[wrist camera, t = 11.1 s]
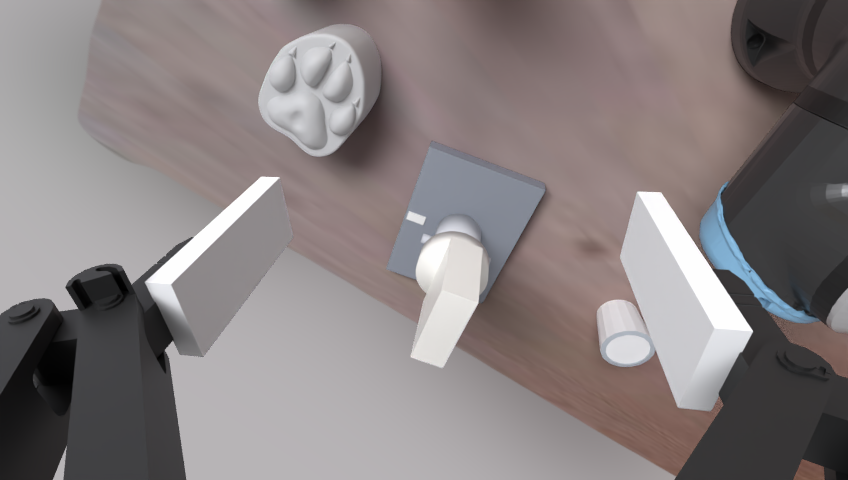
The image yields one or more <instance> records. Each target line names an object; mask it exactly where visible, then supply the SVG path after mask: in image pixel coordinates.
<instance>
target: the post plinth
mask: <svg viewBox="0 0 848 480" xmlns="http://www.w3.org/2000/svg"><path fill="white" fill-rule="evenodd" d="M545 191H546V190H545V184H544V183H543V182H540V181H537V180H535V179H532V178H529V177H527V176H524V175H521V174H519V173H516V172H513V171H511V170H508V169H505V168H503V167H500V166H497V165H495V164H492V163H489V162H487V161H484V160H481V159H479V158H476V157H473V156H471V155H468V154H466V153H463V152H460V151H458V150H455V149H452V148H450V147H447V146H444V145H442V144H439V143H436V142H434V141H432V142H431V144H430V147H429V149H428V152H427V155H426V158H425V161H424V164H423V166H422V169H421V172H420V175H419V178H418V180H417V183H416V186H415V189H414V192H413V194H412V197H411V200H410V203H409V206H408V209H407V211H406V214H405V217H404V220H403V223H402V225H401V228H400V231H399V234H398V237H397V240H396V242H395V245H394V248H393V251H392V254H391V256H390V259H389V262H388V265H387V268H386V269H387V270H390V271H393V272H396V273H398V274H401V275H404V276H407V277H410V278H412V279H415V280H417V278H416V266H417V263H418V259H419V255H420V252H421V249H422V247H423V245H424V244H425V242H426V241H427V240H428V239H430V238H431V237H432V236H434V235H436V234H439V233H442V232H447V231H457V232H462V233H466V234H468V235H471V236H472V237H474V238H476V239H477V240H478V241H479V242H480V243H481V244H482V245H483V246H484V247H485V249H486V251H487V253H488V257H489V272H488V282H487V286H486V288H485V289H484V291H483V292H482V293H481V294H480V295H479V303H483V301H484V299H485V298H486V296H487V294H488V292H489V290H490V289H491V287H492V285H493V283H494V282H495V280H496V278H497V276H498V274H499V273H500V271H501V269H502V267H503V266H504V264H505V262H506V260H507V258H508V257H509V255H510V253H511V251H512V249H513V248H514V246H515V244H516V242H517V241H518V239H519V237H520V235H521V233H522V232H523V230H524V228H525V226H526V224H527V223H528V221H529V219H530V217H531V216H532V214H533V212H534V210H535V208H536V207H537V205H538V203H539V201H540V199H541V198H542V196H543V194H544V192H545Z"/></svg>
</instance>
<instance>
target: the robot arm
mask: <svg viewBox="0 0 848 480" xmlns="http://www.w3.org/2000/svg"><path fill="white" fill-rule="evenodd" d="M731 35H732V45H733V49H734V52H735V55H736V57H737V60H738V61H739V63H740V65H741V66H742V67H743V69H744V70H745V71H746V72H747V73H748V74H749V75H750V76H752V77H753V78H755V79H756V80H758V81H760V82H762V83H764V84H766V85H768V86H771V87H773V88H776V89H779V90H783V91H788V92H796V93H801V94H800V95H799V96H798V97H797V99H796V100H795V101H794V102H793V103H792V104H791V105H790V106H789V108H788V109H787V110H786V111H785V113H784V114H783V115H782V116H781V118H780V119H779V120H778V121H777V123H776V124H775V125H774V126H773V128H772V129H771V130H770V131H769V133H768V134H767V135H766V136H765V138H764V139H763V140H762V141H761V143H760V144H759V145H758V146H757V148H756V149H755V150H754V151H753V153H752V154H751V155H750V156H749V158H748V159H747V160H746V161H745V163H744V164H743V165H742V166H741V168H740V169H739V170H738V171H737V173H736V174H735V175H734V176H733V178H732V179H731V180H730V181H729V182H726V183H725V184H724V185H723V186H722V187H721V189H720V190H719V193H718V196H717V198H716V200H715V201H714V202H713V204H712V205H711V207H710V208H709V209H708V211H707V212H706V213H705V215H704V216H703V218H702V220H701V223H700V234H699V237H700V241H701V244H702V247H703V249H704V251H705V253H706V255H707V257H708V258H709V260H710V261H711V263H712V264H713V265H714V267H715V268H716V269H711V267H710V266H709V264H708V263H707V261H706V260H705V258H704V257H703V255H702V254H701V252H700V251H699V249H698V248H697V246H696V245H695V243H694V242H693V240H692V239H691V237H690V236H689V234H688V233H687V231H686V230H685V228H684V227H683V225H682V224H681V222H680V221H679V219H678V218H677V216H676V215H675V213H674V212H673V210H672V209H671V207H670V206H669V204H668V203H667V201H666V199H665V198H664V196H663V195H662V193H660V192H637V194H636V198H635V202H634V205H633V209H632V213H631V217H630V221H629V224H628V228H627V232H626V236H625V240H624V243H623V247H622V251H621V255H620V258H621V261H622V264H623V266H624V269H625V271H626V274H627V277H628V279H629V282H630V284H631V287H632V290H633V292H634V295H635V297H636V300H637V303H638V305H639V308H640V310H641V313H642V316H643V318H644V321H645V323H646V326H647V329H648V331H649V334H650V336H651V339H652V342H653V344H654V347H655V349H656V352H657V355H658V357H659V360H660V362H661V365H662V368H663V370H664V373H665V375H666V378H667V380H668V383H669V386H670V388H671V391H672V393H673V396H674V399H675V401H676V404H677V406H678V408H685V409H694V410H703V411H711V410H712V408H713V406H714V405H715V403H716V401H717V399H718V397H719V396H720V398H721V400H722V402H723V404H724V406H723V407H722V409H721V410H720V412H719V413H718V415H717V416H716V418H715V419H714V421H713V422H712V424H711V425H710V427H709V428H708V430H707V431H706V433H705V434H704V436H703V437H702V439H701V440H700V442H699V443H698V445H697V446H696V448H695V449H694V451H693V453H692V454H691V456H690V457H689V459H688V460H687V462H686V463H685V465H684V466H683V468H682V469H681V471H680V472H679V474H678V475H677V477H676V478H675V480H793V478H794V476H795V474H796V471H797V469H798V467H799V464H800V462H801V460H802V459H804V460H807V461H810V462H812V463H815V464H818V465H821V466H823V467H824V475H825V480H848V378H845V377H842V376H839V375H836V373H835V372H834V370H833V369H832V367H831V366H830V364H829V363H827V362H826V361H825V360H824V359H823V358H822V357H820V356H819V355H817V354H816V353H814V352H812V351H810V350H808V349H807V348H804V347H801V346H799V345H796V344H793V343H790V342H789V340H788V339H787V338H786V336H785V335H784V334H783V332H782V331H781V330H780V328H779V327H778V326H777V324H776V323H775V322H774V320H773V319H772V318H771V316H770V315H769V313H768V312H770V313H772V314H774V315H776V316H778V317H780V318H782V319H785V320H788V321H792V322H795V323H813V322H817V321H822V322H823V323H824V324H825V325H827V326H828V327H829V328H831V329H832V330H834V331H835V332H837V333H846V334H848V0H738V1H737V4H736V7H735V11H734V14H733V20H732V30H731ZM292 239H293V233H292V229H291V224H290V220H289V216H288V211H287V207H286V203H285V198H284V194H283V190H282V185H281V181H280V177H261V178H259V179H258V180H257V181H256V182H255V183H254V184H253V185H252V186H251V187H249V188H248V189H247V190H246V191H245V192H244V193H243V194H242V195H241V196H239V197H238V198H237V199H236V200H235V201H234V202H233V203H232V204H231V205H230V206H228V207H227V208H226V209H225V210H224V211H223V212H222V213H221V214H220V215H219V216H217V217H216V218H215V219H214V220H213V221H212V222H211V223H210V224H209V225H207V226H206V227H205V228H204V229H203V230H202V231H201V232H200V233H199V234H197V235H196V236H195V237H191V238H189V239H187V240H186V241H184V242H182V243H180V244H178V245H176V246H175V247H174V248H173V249H172V250H171V251H169V252H168V253H167V254H166V257H165V256H164V257H163V258H162V259H160V260H159V261H158V262H157V264H155V265H154V266H152V267H151V268H150V269H149V270H148V271H147V272H146V273H145V274H143V275H142V276H141V277H140V278H139V279H138V280H137V281H135V282H134V283H133V284H132V285H131V283H130V281H129V279H128V277H127V275H126V273H125V271H124V269H123V268H122V266H120V265H117V264H104V265H99V266H95V267H92V268H90V269H87V270H84V271H83V272H81V273H79V274H77V275H75V276H74V277H73V278H72V279H71V280H69V282H68V283H67V285H66V289H67V291H68V292H69V294H70V296H71V297H72V299H73V300H74V302H75V304H76V305H77V307H78V309H75V310H68V311H60V312H59V311H58V309H57V308H56V306H55V304H54V303H53V302H52V301H51V300H50V299H45V298H43V299H33V300H30V301H25V302H21V303H19V304H18V305H17V304H16V305H14V306H12V307H11V308H10V309H8V310H7V311H5V312H3V313H2V314H1V315H0V480H53V477H54V475H55V473H56V470H57V468H58V465H59V463H60V460H61V458H62V455H63V453H64V450H65V448H66V446H67V450H66V460H65V471H64V480H186V475H185V468H184V461H183V455H182V447H181V440H180V433H179V426H178V419H177V412H176V405H175V398H174V391H173V384H172V377H171V370H170V363H169V358H168V356H167V354H166V352H165V349H166V347H168V345H169V344H170V343H171V342H172V341H174V343H175V345H176V347H177V350H178V352H179V354H180V355H189V356H198V357H204V355H205V354H206V353H207V351H208V350H209V349H210V347H211V346H212V345H213V343H214V342H215V341H216V339H217V338H218V337H219V335H220V334H221V332H222V331H223V330H224V329H225V327H226V326H227V325H228V324H229V322H230V321H231V319H232V318H233V317H234V316H235V314H236V313H237V312H238V310H239V309H240V308H241V306H242V305H243V304H244V302H245V301H246V300H247V298H248V297H249V296H250V294H251V293H252V292H253V290H254V289H255V288H256V286H257V285H258V284H259V282H260V281H261V279H262V278H263V277H264V276H265V274H266V273H267V271H268V270H269V269H270V268H271V266H272V265H273V264H274V262H275V261H276V260H277V258H278V257H279V256H280V254H281V253H282V252H283V250H284V249H285V248H286V247H287V245H288V244H289V243H290V241H291V240H292ZM762 307H763V308H762ZM767 311H768V312H767Z"/></svg>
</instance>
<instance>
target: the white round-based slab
mask: <svg viewBox="0 0 848 480" xmlns="http://www.w3.org/2000/svg"><path fill="white" fill-rule="evenodd" d="M488 272H489V257H488V253H487V251H486V249H485V247H484V246H483V245H482V244H481V243H480V242H479V241H478V240H477V239H476V238H474V237H472V236H471V235H468V234H466V233H462V232H457V231H447V232H442V233H439V234H436V235H434V236H432V237H431V238H430V239H428V240H427V241H426V242H425V244H424V245H423V247H422V249H421V252H420V255H419V259H418V263H417V266H416V278H417V281H418V283H419V285H420V287H421V288H422V289H423V291H424V292H425V293H427V294H426V296H425V298H424V301H423V305H422V309H421V314H420V318H419V322H418V326H417V331H416V335H415V340H414V343H413V348H412V352H411V356H410V357H412V358H414V359H417V360H420V361H423V362H426V363H429V364H432V365H435V366H437V367H440V368H443V367H444V365H445V363H446V361H447V359H448V357H449V356H450V354H451V352H452V350H453V348H454V347H455V345H456V343H457V341H458V339H459V337H460V336H461V334H462V332H463V330H464V328H465V326H466V325H467V323H468V321H469V319H470V317H471V316H472V314H473V312H474V310H475V308H476V306H477V305H478V303H479V295H480V294H481V293H482V292H483V291H484V289H485V288H486V286H487V282H488Z"/></svg>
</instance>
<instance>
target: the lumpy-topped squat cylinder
mask: <svg viewBox="0 0 848 480" xmlns="http://www.w3.org/2000/svg"><path fill="white" fill-rule="evenodd" d="M381 73H382V70H381V60H380V56H379V53H378V49H377V47H376V44H375V42H374V41H373V39H372V37H371V36H370V35H369V34H368V33H367V32H366V31H365V30H363V29H362V28H360V27H358V26H355V25H350V24H334V25H330V26H328V27H325V28H322V29H320V30H317V31H315V32H312V33H310V34H307V35H305V36H302V37H300V38H298V39H296V40H294V41H292V42H290V43H288V44H287V45H285V46H284V47H283V48H282V49H281V50H280V52H279V53H278V55H277V56H276V58H275V59H274V61H273V62H272V64H271V66H270V68H269V70H268V72H267V74H266V77H265V80H264V82H263V85H262V87H261V90H260V94H259V99H258V104H259V109H260V112H261V115H262V117H263V119H264V120H265V122H266V123H267V124H268V125H269V126H270V127H272V128H273V129H275V130H276V131H278V132H280V133H282V134H284V135H286V136H287V137H289V138H290V139H291V140H293V141H294V142H295V143H296V144H297V145H298V146H299V147H300V148H301V149H302V150H303V151H304V152H306V153H307V154H309V155H311V156H315V157H323V156H328V155H330V154H332V153H334V152H335V151H336V150H337V149H338V148H339V147H340V146H341V145H342V144H343V143H344V142H345V141H346V139H347V138H348V137H349V136H350V135H351V134H352V132H353V131H354V130H355V129H356V128H357V127H358V126H359V124H360V123H361V122H362V121H363V120H364V119H365V117H366V116H367V115H368V113H369V112H370V110H371V109H372V107H373V105H374V104H375V102H376V100H377V98H378V96H379V93H380V88H381Z"/></svg>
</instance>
